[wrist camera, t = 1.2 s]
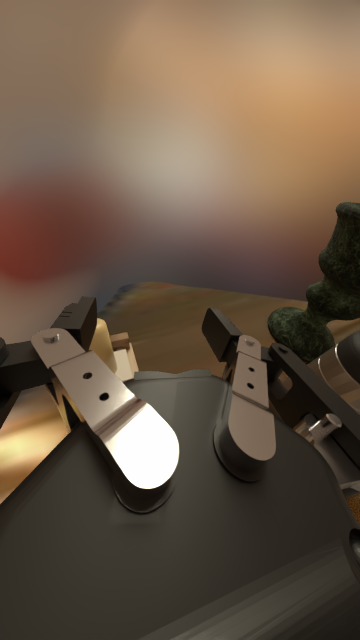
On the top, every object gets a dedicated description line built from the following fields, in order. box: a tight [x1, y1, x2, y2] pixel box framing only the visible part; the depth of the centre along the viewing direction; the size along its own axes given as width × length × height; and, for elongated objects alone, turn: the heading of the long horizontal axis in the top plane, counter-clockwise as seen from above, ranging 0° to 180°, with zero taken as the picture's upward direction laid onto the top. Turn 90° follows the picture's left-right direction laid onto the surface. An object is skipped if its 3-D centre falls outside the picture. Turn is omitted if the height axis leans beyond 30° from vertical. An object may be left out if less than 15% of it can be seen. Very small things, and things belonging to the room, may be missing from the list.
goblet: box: [268, 202, 360, 362], centre depth 38 cm, size 22×23×30 cm
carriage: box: [89, 318, 133, 382], centre depth 25 cm, size 7×6×13 cm
